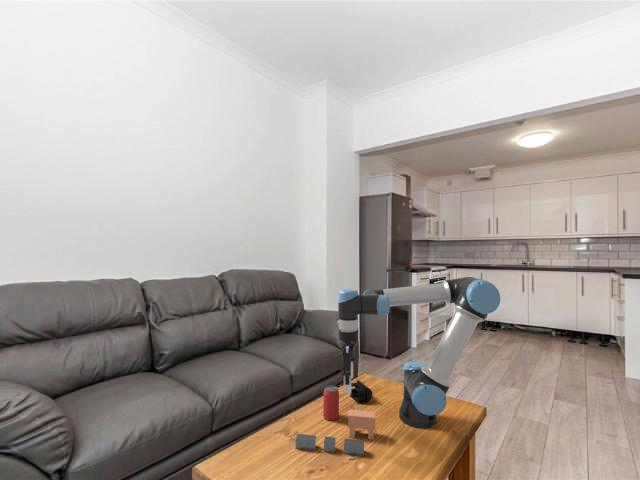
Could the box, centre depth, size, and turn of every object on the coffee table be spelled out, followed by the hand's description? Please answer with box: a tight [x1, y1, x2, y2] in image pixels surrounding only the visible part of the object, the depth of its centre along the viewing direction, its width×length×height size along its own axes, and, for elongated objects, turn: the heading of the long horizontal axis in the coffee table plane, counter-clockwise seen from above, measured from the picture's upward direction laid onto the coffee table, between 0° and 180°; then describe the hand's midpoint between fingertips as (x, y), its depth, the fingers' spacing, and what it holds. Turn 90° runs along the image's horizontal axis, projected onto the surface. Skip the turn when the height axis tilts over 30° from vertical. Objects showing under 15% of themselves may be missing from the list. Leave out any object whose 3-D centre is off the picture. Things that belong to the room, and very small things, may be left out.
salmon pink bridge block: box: [347, 409, 376, 440], centre depth 125 cm, size 10×4×8 cm, turn 82°
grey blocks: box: [295, 433, 365, 457], centre depth 116 cm, size 24×3×4 cm, turn 82°
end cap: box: [349, 380, 373, 405], centre depth 155 cm, size 10×7×7 cm
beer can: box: [322, 385, 340, 421], centre depth 138 cm, size 7×7×12 cm
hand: (348, 384), depth 127 cm, fingers open, 13 cm apart
